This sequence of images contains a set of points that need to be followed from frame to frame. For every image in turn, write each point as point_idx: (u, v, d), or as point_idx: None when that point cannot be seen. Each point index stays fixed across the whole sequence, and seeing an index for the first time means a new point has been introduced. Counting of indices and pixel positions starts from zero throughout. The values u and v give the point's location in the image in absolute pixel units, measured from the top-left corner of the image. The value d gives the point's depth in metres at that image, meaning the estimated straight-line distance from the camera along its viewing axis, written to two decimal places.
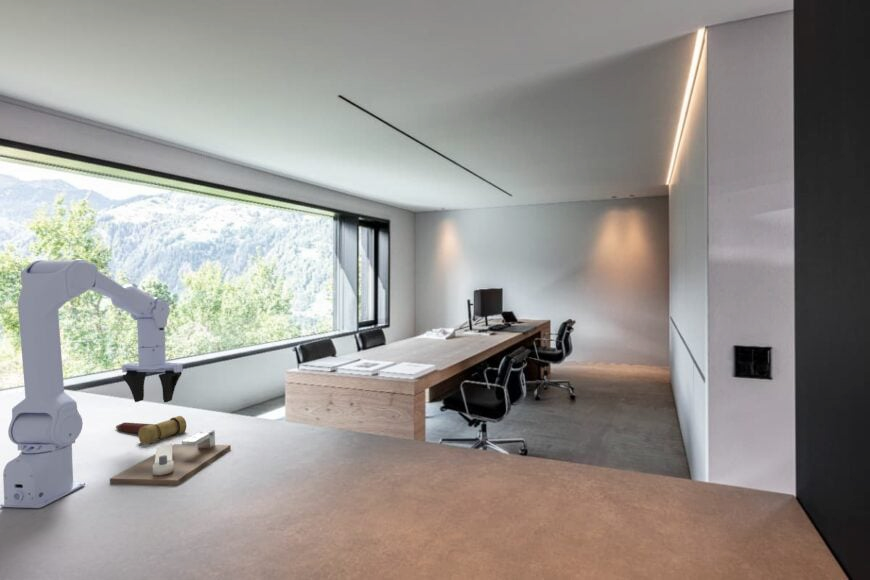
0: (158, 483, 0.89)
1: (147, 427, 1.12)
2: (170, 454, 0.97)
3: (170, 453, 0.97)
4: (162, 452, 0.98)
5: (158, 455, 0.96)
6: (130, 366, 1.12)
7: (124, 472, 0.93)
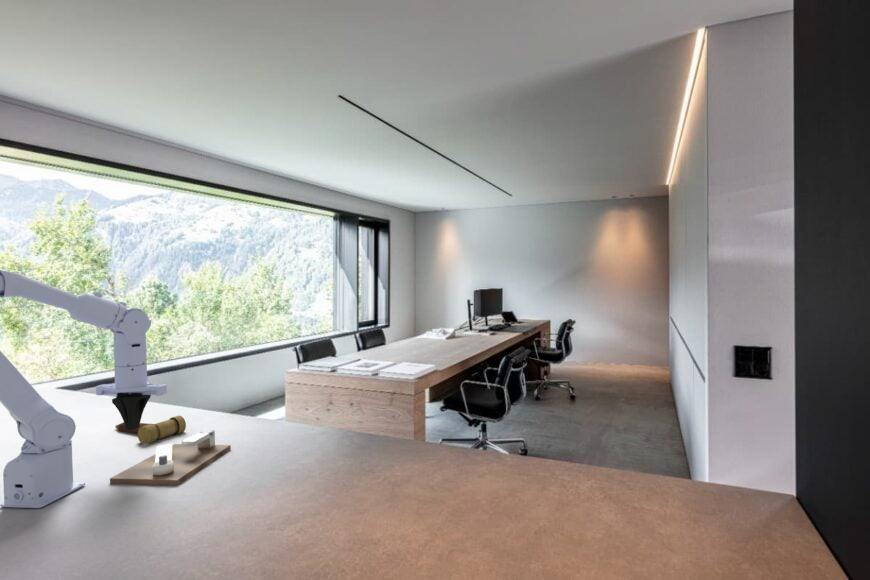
0: (158, 483, 0.89)
1: (146, 427, 1.13)
2: (170, 454, 0.97)
3: (170, 453, 0.97)
4: (162, 452, 0.98)
5: (158, 455, 0.96)
6: (105, 388, 0.96)
7: (124, 472, 0.93)
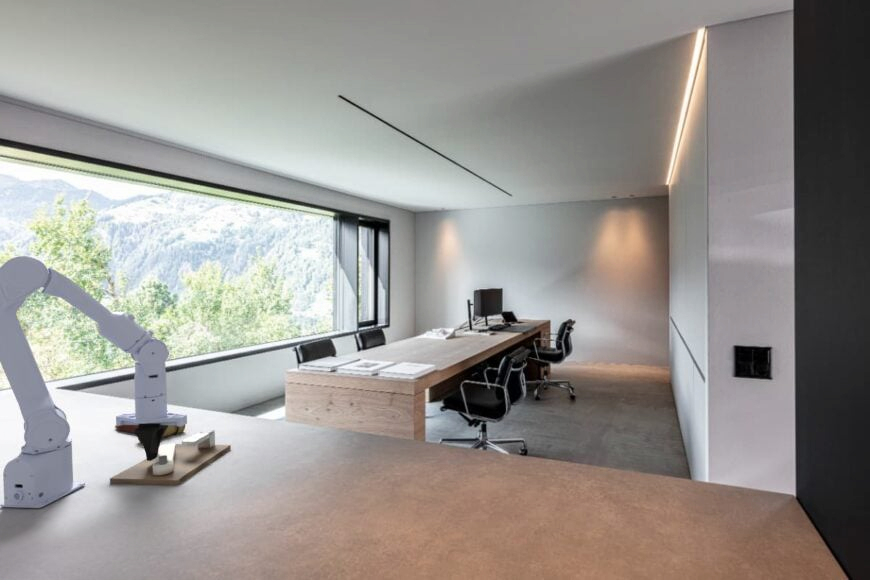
0: (158, 483, 0.89)
1: None
2: (171, 454, 0.97)
3: (172, 453, 0.97)
4: (164, 452, 0.98)
5: (160, 455, 0.97)
6: (125, 419, 0.96)
7: (124, 472, 0.93)
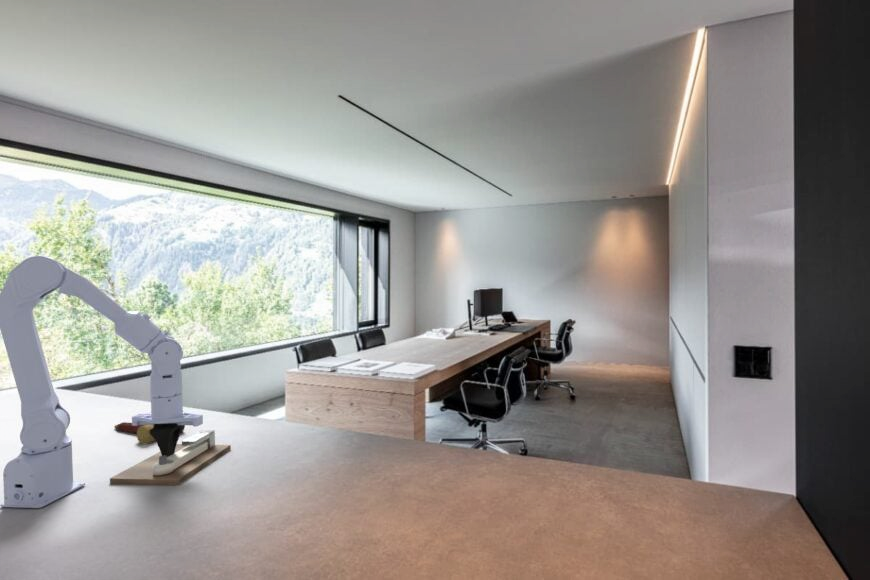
0: (158, 483, 0.89)
1: (145, 427, 1.13)
2: (184, 454, 0.97)
3: (186, 453, 0.97)
4: (185, 450, 0.99)
5: (177, 452, 0.98)
6: (141, 419, 0.95)
7: (124, 472, 0.93)
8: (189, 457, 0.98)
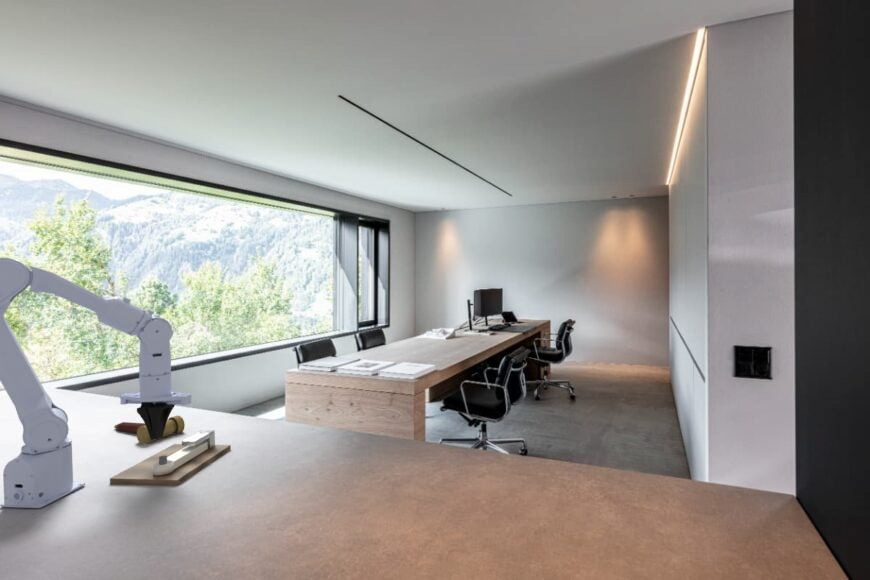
0: (158, 483, 0.89)
1: (145, 427, 1.13)
2: (184, 454, 0.97)
3: (186, 453, 0.97)
4: (185, 450, 0.99)
5: (177, 452, 0.98)
6: (130, 397, 0.95)
7: (124, 472, 0.93)
8: (189, 457, 0.98)
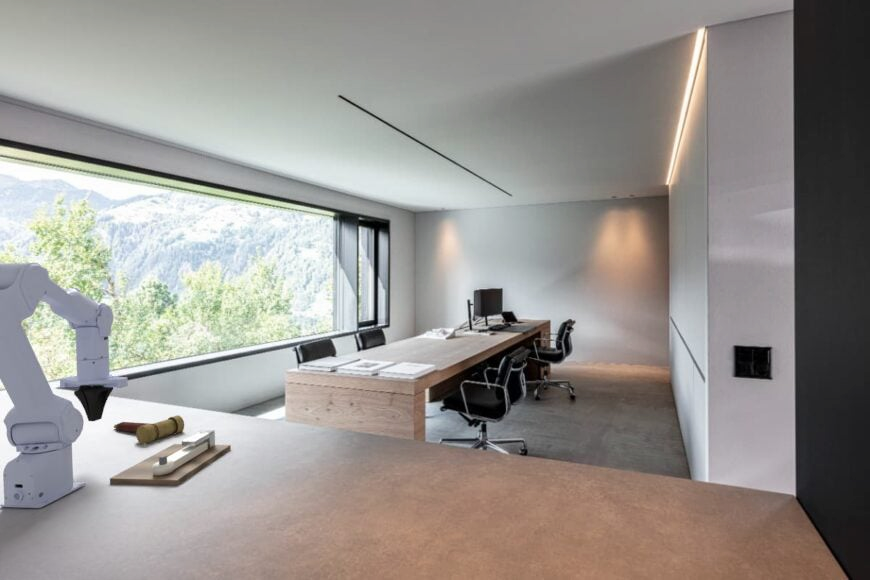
0: (158, 483, 0.89)
1: (145, 426, 1.13)
2: (184, 454, 0.97)
3: (186, 453, 0.97)
4: (185, 450, 0.99)
5: (177, 452, 0.98)
6: (68, 381, 0.99)
7: (124, 472, 0.93)
8: (189, 457, 0.98)
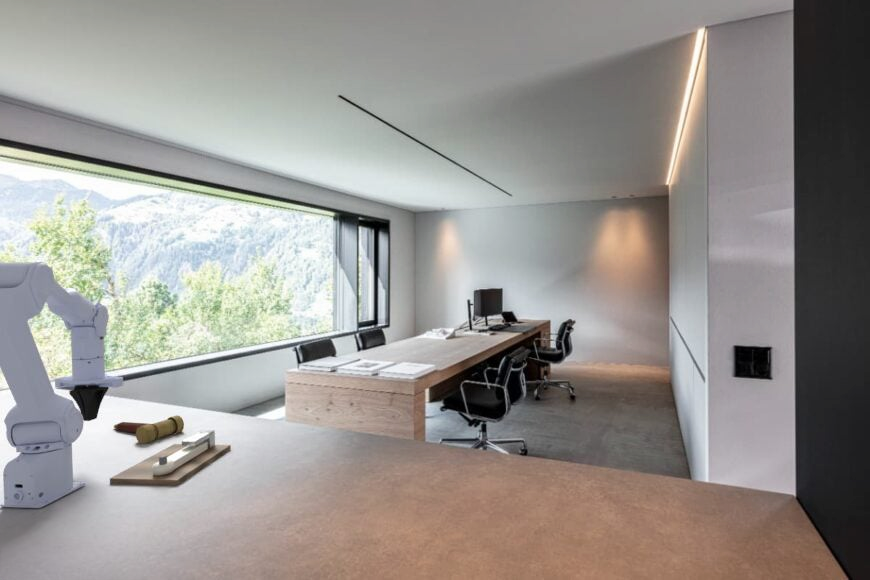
0: (158, 483, 0.89)
1: (144, 427, 1.13)
2: (184, 454, 0.97)
3: (186, 453, 0.97)
4: (185, 450, 0.99)
5: (177, 452, 0.98)
6: (63, 380, 1.00)
7: (124, 472, 0.93)
8: (189, 457, 0.98)
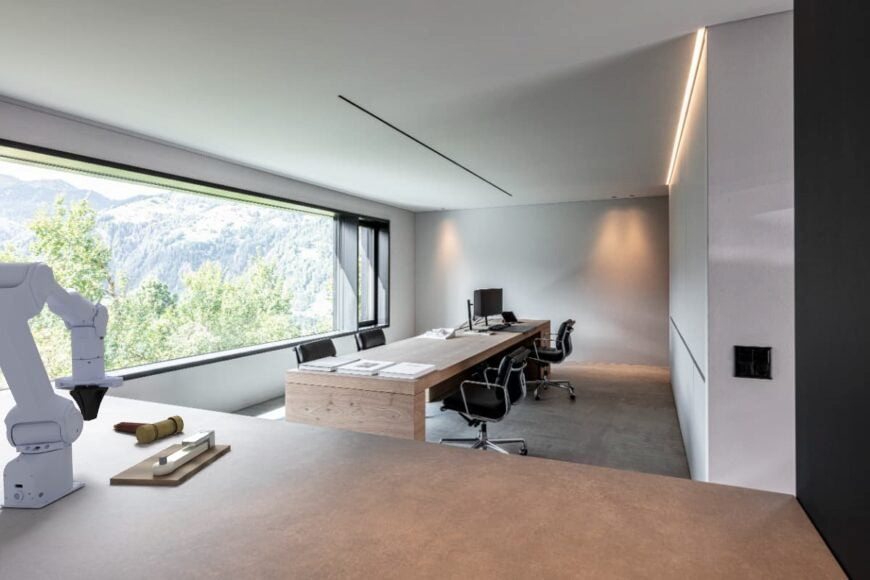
0: (158, 483, 0.89)
1: (144, 426, 1.13)
2: (184, 454, 0.97)
3: (186, 453, 0.97)
4: (185, 450, 0.99)
5: (177, 452, 0.98)
6: (63, 380, 1.00)
7: (124, 472, 0.93)
8: (189, 457, 0.98)
